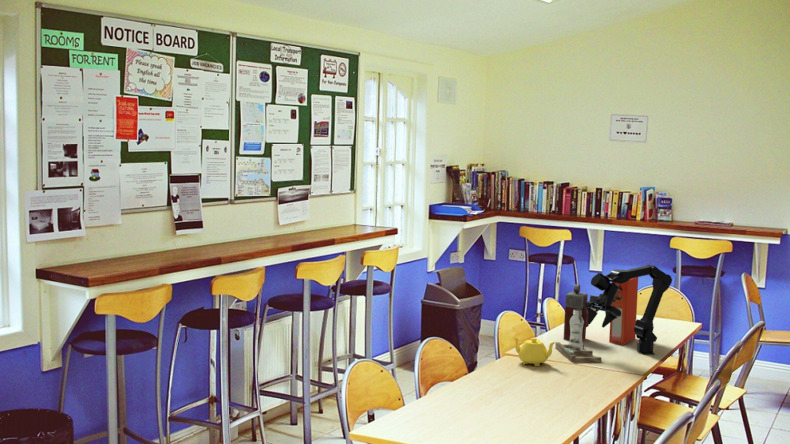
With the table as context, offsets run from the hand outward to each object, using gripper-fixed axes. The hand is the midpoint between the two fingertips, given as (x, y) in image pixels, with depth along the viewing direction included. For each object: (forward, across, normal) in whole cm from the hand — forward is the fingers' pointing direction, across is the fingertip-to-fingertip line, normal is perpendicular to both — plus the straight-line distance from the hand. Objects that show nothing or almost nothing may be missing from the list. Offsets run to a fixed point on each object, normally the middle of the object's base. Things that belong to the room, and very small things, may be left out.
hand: (595, 325), depth 358 cm
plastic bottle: (+14, -12, +6) cm, 19 cm away
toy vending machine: (+4, -32, +21) cm, 38 cm away
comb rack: (+15, -7, +4) cm, 17 cm away
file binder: (-6, -21, +39) cm, 45 cm away
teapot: (+29, -4, -21) cm, 36 cm away
